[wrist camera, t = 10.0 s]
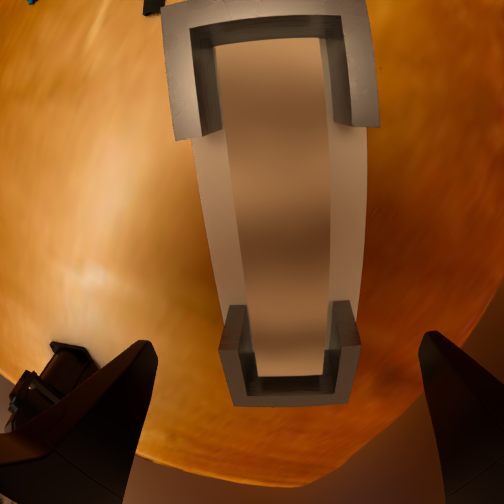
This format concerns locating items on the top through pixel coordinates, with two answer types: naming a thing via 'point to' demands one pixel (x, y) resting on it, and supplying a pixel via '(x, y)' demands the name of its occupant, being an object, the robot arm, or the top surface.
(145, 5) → the gun
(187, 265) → the top surface
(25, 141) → the top surface
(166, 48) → the end caps
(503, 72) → the top surface
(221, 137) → the end-cap board
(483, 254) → the top surface
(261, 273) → the beige rectangular bar
